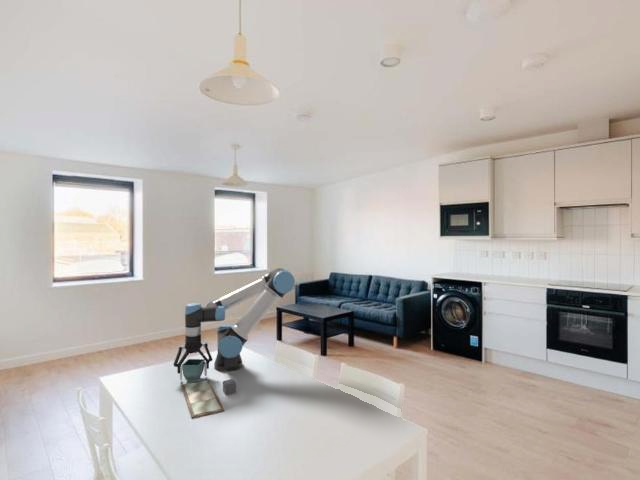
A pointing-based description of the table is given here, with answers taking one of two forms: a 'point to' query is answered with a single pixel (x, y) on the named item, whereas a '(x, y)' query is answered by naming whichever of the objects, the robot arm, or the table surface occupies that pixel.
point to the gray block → (229, 387)
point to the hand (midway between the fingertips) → (193, 377)
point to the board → (201, 399)
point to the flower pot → (193, 369)
